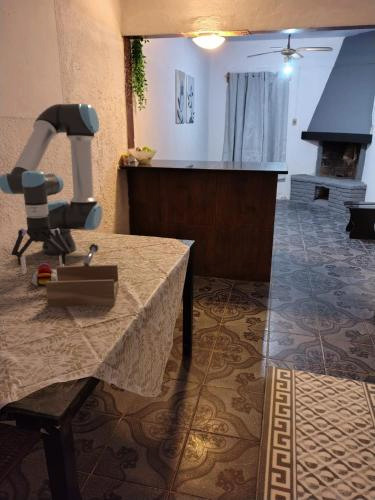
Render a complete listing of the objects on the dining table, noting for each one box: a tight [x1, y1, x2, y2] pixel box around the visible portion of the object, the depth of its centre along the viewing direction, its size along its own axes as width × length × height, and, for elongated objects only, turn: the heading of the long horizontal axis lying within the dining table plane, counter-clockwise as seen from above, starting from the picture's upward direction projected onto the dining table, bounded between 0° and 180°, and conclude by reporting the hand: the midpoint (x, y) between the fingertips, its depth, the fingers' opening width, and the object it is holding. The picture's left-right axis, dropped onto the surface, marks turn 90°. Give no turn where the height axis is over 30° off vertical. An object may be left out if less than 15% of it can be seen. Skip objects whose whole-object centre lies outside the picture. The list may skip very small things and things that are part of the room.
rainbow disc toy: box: [31, 263, 58, 287], centre depth 140 cm, size 8×10×7 cm
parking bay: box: [45, 264, 120, 308], centre depth 128 cm, size 15×21×8 cm
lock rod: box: [82, 243, 99, 266], centre depth 141 cm, size 19×3×3 cm, turn 5°
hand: (43, 272), depth 140 cm, fingers open, 13 cm apart
